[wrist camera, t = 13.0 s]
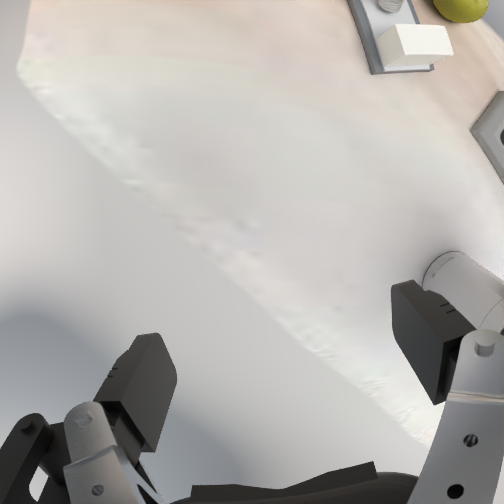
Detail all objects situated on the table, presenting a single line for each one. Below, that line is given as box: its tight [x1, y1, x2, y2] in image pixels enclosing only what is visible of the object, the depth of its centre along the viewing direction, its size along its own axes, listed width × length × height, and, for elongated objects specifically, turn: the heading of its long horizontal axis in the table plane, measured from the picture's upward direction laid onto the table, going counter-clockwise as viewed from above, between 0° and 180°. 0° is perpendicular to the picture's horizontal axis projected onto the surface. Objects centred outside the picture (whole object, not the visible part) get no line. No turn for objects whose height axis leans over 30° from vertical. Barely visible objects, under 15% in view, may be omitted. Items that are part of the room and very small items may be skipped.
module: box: [376, 24, 454, 67], centre depth 26 cm, size 4×7×6 cm, turn 104°
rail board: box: [348, 0, 434, 75], centre depth 28 cm, size 17×8×2 cm, turn 14°
